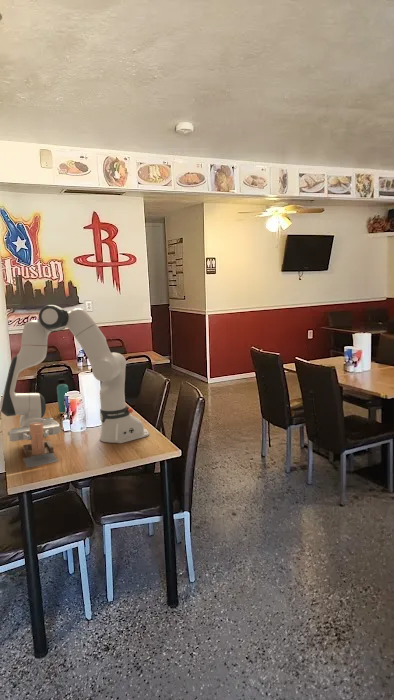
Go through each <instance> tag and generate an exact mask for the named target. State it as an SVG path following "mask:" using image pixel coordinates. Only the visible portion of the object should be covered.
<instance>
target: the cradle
mask: <svg viewBox="0 0 394 700" xmlns="http://www.w3.org/2000/svg"><path fill="white" fill-rule="evenodd" d="M44 446H45V453H43V454H47V453H52V452H53V453H55V451H54V446H53V444H52V442H51V441H50V440H44ZM22 448H23V452H24V453H25V458H27V457H32V456H37V455H33V454H32V447H31V443H29V444H24V445H23V447H22ZM39 455H42V454H39Z"/></svg>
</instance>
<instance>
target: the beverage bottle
mask: <svg viewBox="0 0 394 700" xmlns="http://www.w3.org/2000/svg"><path fill="white" fill-rule="evenodd" d="M57 383H58V385H57V386H56V394H57V403H58V404H57V407H58V408H57V409H58V412H59V413H66V412H65V405H64V395H65V393H67V392H69V393H70V391H69V386H68V384H66V378H58V380H57Z"/></svg>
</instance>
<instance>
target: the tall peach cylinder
mask: <svg viewBox="0 0 394 700" xmlns="http://www.w3.org/2000/svg"><path fill="white" fill-rule="evenodd" d="M30 435H31V440H30V444H31V447H32V454H33V455H36V456H37V455H39V454H41V455H42V454H43V453H45V446H44V441H45V439H44V438H45V437H44V434H43V423H41V422H36V423H32V424H30Z"/></svg>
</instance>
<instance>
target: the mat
mask: <svg viewBox="0 0 394 700" xmlns="http://www.w3.org/2000/svg"><path fill="white" fill-rule="evenodd" d="M22 459H23V462H24V465H25V468H26V469H27V468H33V467H37V466H43V465H46V464H47V465H48V464H52V463H56V462H58V459H57V458H56V455H55V454H54V452H51V453H46V454H41V455H36V456H31V457H23V458H22Z"/></svg>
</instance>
